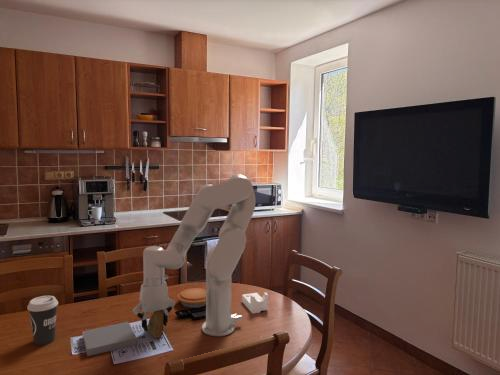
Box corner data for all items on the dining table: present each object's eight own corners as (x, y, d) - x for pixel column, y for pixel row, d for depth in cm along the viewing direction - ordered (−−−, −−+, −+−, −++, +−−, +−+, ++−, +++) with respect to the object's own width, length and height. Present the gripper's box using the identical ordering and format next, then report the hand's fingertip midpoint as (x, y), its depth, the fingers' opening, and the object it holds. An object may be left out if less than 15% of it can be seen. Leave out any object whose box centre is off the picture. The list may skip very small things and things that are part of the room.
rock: (168, 333, 134) (175, 317, 144) (152, 316, 133) (161, 301, 143) (146, 348, 137) (154, 331, 146) (130, 331, 135) (140, 315, 145)
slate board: (128, 327, 143) (128, 321, 143) (136, 344, 131) (136, 337, 131) (82, 337, 135) (82, 331, 135) (87, 356, 123) (87, 349, 123)
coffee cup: (38, 350, 126) (36, 307, 125) (23, 342, 131) (21, 301, 130) (65, 338, 135) (63, 298, 133) (50, 331, 140) (48, 292, 138)
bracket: (267, 311, 160) (268, 294, 159) (252, 314, 157) (252, 296, 156) (256, 300, 172) (256, 284, 171) (242, 302, 169) (242, 286, 168)
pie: (170, 303, 166) (170, 292, 166) (196, 293, 178) (196, 283, 178) (193, 313, 156) (193, 302, 156) (219, 302, 168) (219, 291, 168)
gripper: (173, 273, 146) (174, 317, 148) (127, 281, 137) (128, 327, 139) (180, 279, 139) (180, 325, 141) (132, 287, 131) (133, 336, 133)
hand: (154, 326), depth 140 cm, fingers open, 6 cm apart
